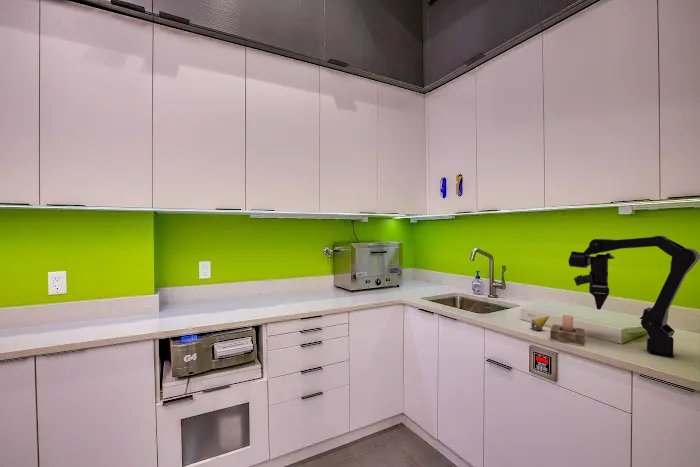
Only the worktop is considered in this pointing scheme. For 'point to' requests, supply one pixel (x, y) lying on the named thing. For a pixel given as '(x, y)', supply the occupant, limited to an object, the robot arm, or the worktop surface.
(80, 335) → the worktop surface
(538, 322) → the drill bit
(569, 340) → the hole block
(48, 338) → the worktop surface
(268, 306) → the worktop surface
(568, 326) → the peg
